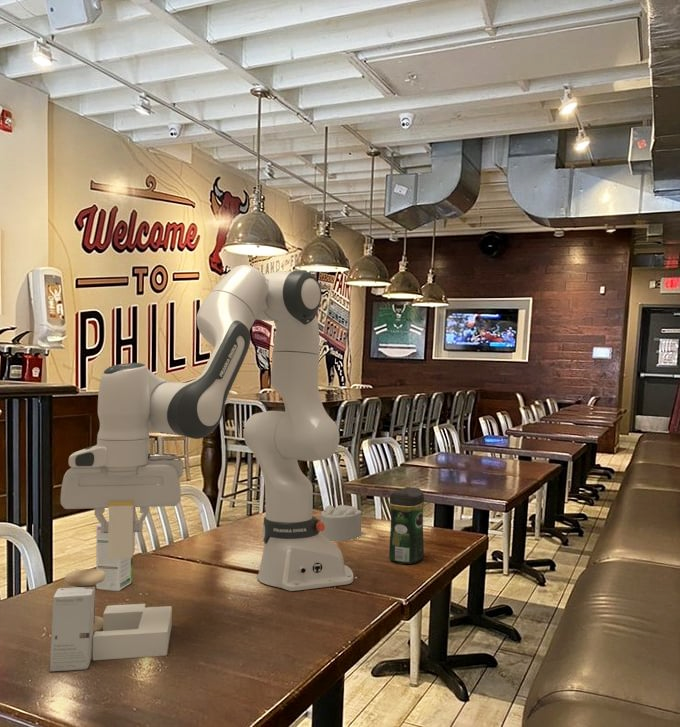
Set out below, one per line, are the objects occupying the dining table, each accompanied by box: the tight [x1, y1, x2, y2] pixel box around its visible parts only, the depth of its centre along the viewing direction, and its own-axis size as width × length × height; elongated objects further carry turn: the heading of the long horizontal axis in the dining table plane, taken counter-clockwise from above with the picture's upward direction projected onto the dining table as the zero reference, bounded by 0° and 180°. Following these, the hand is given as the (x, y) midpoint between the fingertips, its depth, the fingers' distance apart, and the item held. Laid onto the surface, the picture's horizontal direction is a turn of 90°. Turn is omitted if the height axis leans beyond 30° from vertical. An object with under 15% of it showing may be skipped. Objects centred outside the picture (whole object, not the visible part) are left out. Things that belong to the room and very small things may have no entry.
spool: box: [64, 568, 105, 635], centre depth 120 cm, size 7×7×10 cm
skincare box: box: [49, 586, 96, 672], centre depth 105 cm, size 6×4×12 cm
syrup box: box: [95, 519, 134, 592], centre depth 143 cm, size 6×6×14 cm
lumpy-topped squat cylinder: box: [320, 504, 362, 542], centre depth 188 cm, size 10×13×9 cm
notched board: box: [92, 603, 173, 661], centre depth 115 cm, size 12×14×4 cm
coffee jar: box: [388, 486, 425, 565], centre depth 166 cm, size 10×8×19 cm
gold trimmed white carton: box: [108, 501, 136, 559], centre depth 113 cm, size 4×4×10 cm
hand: (121, 532), depth 113 cm, fingers closed on gold trimmed white carton, 4 cm apart
